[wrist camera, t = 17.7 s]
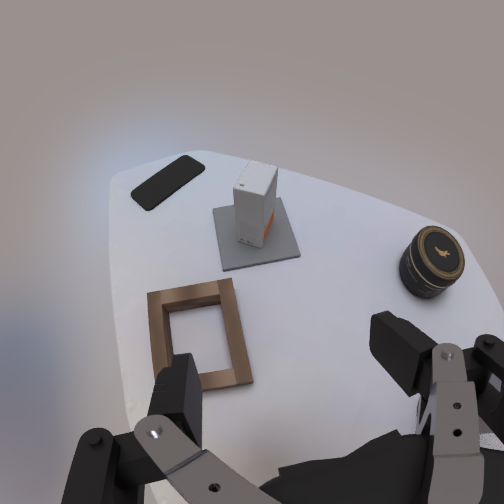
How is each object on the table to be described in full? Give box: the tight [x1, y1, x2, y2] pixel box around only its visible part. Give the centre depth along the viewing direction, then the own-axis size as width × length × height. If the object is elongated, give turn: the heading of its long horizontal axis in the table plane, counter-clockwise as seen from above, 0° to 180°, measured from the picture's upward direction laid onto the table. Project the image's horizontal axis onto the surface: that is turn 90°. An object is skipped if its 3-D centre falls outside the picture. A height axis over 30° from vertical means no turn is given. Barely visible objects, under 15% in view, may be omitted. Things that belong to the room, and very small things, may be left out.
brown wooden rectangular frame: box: [147, 278, 253, 391], centre depth 35 cm, size 12×14×4 cm
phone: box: [131, 155, 205, 211], centre depth 52 cm, size 7×1×15 cm
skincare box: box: [233, 160, 278, 248], centre depth 40 cm, size 6×4×12 cm
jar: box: [400, 226, 465, 298], centre depth 38 cm, size 10×10×8 cm
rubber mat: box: [213, 197, 301, 271], centre depth 45 cm, size 12×12×1 cm
